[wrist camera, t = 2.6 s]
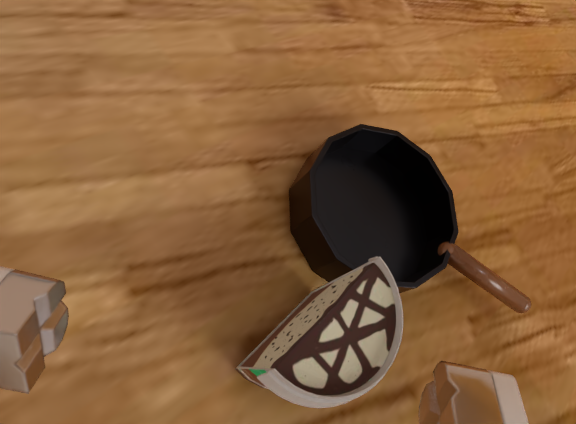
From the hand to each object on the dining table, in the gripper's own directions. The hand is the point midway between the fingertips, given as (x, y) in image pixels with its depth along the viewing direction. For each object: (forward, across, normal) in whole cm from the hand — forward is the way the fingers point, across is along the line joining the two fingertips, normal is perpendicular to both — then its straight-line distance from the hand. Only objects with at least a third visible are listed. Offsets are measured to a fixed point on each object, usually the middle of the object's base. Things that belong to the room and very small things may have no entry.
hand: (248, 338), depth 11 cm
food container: (+21, -3, +25) cm, 33 cm away
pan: (+33, -12, +21) cm, 41 cm away
